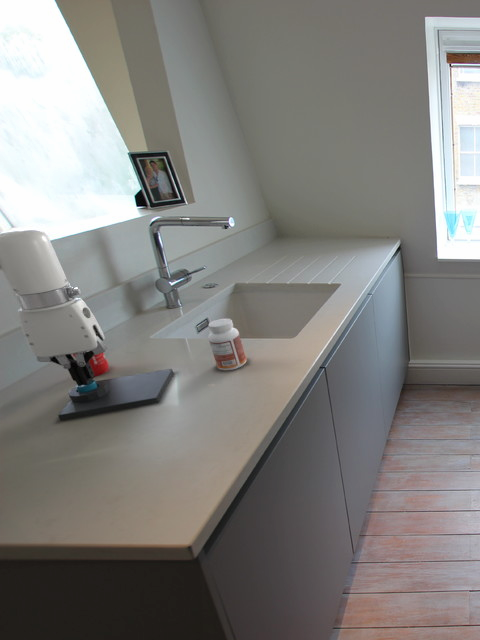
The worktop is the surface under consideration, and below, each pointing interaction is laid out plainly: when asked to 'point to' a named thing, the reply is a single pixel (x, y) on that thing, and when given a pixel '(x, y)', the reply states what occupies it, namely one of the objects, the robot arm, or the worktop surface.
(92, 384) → the tare button
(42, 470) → the worktop surface
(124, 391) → the scale
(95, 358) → the beverage can
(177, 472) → the worktop surface
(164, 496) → the worktop surface
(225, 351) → the pill bottle
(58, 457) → the worktop surface
